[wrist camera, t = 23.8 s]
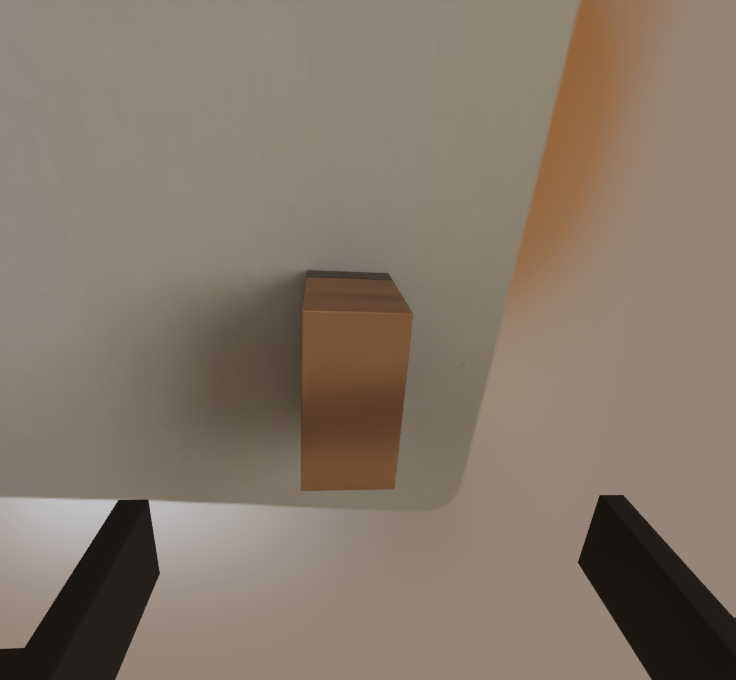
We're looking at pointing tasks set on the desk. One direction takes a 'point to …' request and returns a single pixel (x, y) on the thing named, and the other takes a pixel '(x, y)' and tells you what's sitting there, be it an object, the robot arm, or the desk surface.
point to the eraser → (352, 380)
